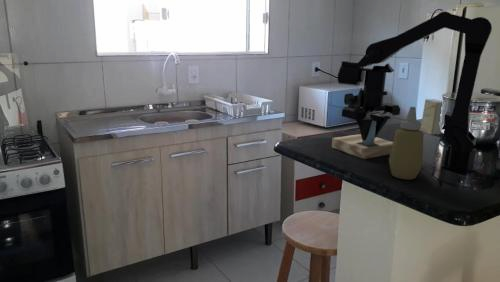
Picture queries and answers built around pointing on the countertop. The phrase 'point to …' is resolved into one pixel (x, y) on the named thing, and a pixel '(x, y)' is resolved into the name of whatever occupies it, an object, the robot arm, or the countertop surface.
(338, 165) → the countertop surface
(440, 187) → the countertop surface
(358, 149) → the board
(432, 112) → the skincare box
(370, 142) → the peg
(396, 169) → the squeeze bottle
